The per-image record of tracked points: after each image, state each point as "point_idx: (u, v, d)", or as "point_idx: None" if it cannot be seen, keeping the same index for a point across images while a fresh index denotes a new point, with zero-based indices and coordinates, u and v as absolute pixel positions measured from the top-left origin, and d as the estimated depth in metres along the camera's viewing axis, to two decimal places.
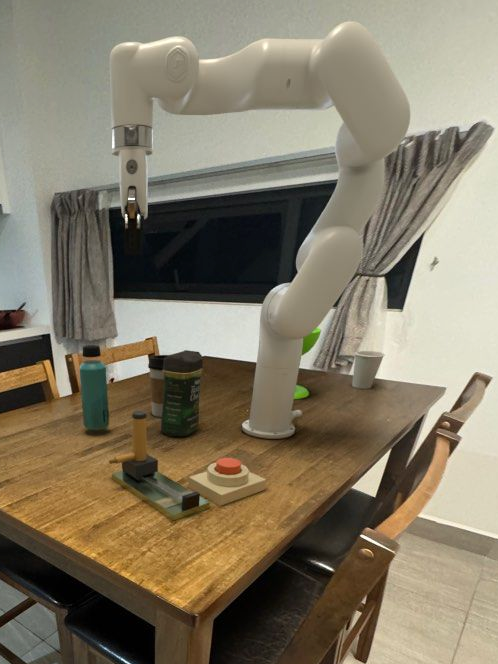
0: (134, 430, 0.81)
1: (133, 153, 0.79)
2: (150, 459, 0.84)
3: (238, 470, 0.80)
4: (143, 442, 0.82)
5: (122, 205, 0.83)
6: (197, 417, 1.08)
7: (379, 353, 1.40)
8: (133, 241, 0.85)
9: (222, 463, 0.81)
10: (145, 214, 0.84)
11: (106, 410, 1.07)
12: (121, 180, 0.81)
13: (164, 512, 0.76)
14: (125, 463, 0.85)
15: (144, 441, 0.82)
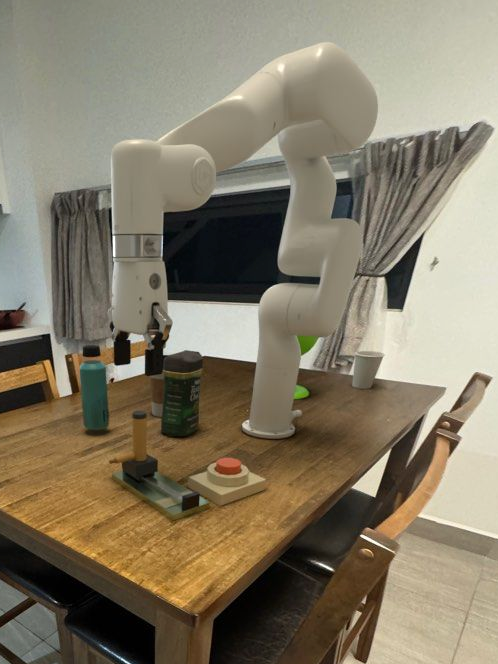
0: (134, 430, 0.81)
1: (156, 266, 0.65)
2: (150, 459, 0.84)
3: (238, 470, 0.80)
4: (143, 442, 0.82)
5: (144, 323, 0.68)
6: (197, 417, 1.08)
7: (379, 353, 1.40)
8: (157, 362, 0.71)
9: (222, 463, 0.81)
10: None
11: (106, 410, 1.07)
12: (143, 296, 0.66)
13: (164, 512, 0.76)
14: (125, 463, 0.85)
15: (144, 441, 0.82)
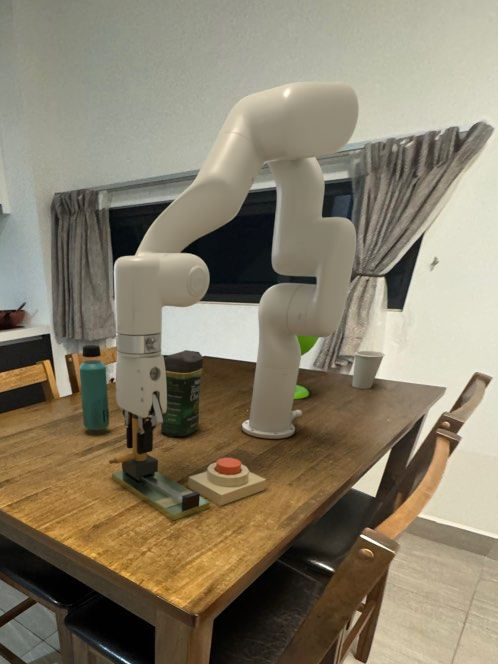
0: (134, 430, 0.81)
1: (155, 361, 0.72)
2: (150, 459, 0.84)
3: (238, 470, 0.80)
4: None
5: (145, 409, 0.75)
6: (197, 417, 1.08)
7: (379, 353, 1.40)
8: (148, 442, 0.81)
9: (222, 463, 0.81)
10: None
11: (106, 410, 1.07)
12: (144, 387, 0.73)
13: (164, 512, 0.76)
14: (125, 463, 0.85)
15: None
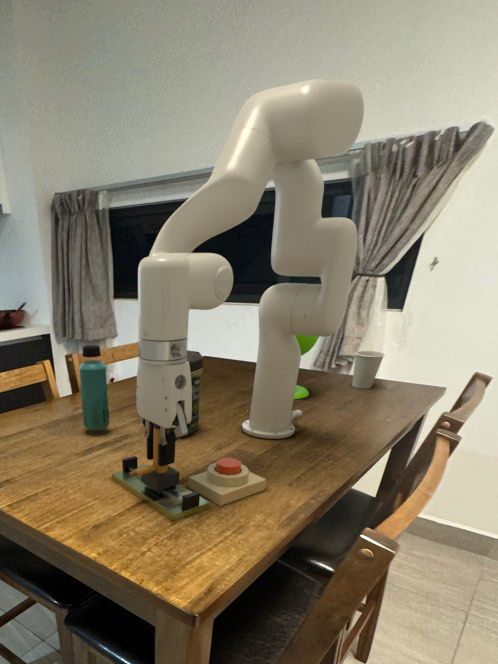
0: (155, 441, 0.76)
1: (181, 368, 0.67)
2: (171, 471, 0.80)
3: (238, 470, 0.80)
4: None
5: (169, 420, 0.70)
6: (197, 417, 1.08)
7: (379, 353, 1.40)
8: (170, 454, 0.76)
9: (222, 463, 0.81)
10: None
11: (106, 410, 1.07)
12: (168, 396, 0.68)
13: (164, 512, 0.76)
14: (145, 475, 0.80)
15: None
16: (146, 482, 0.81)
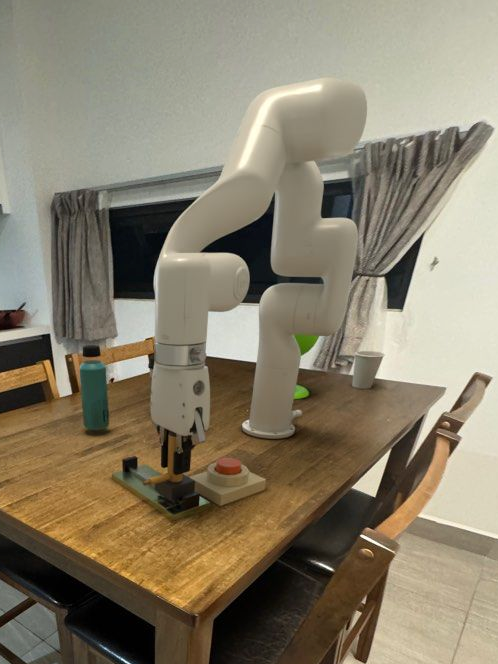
0: (171, 448, 0.73)
1: (200, 374, 0.64)
2: (186, 480, 0.77)
3: (238, 470, 0.80)
4: None
5: (186, 427, 0.67)
6: None
7: (379, 353, 1.40)
8: (186, 462, 0.73)
9: (222, 463, 0.81)
10: None
11: (106, 410, 1.07)
12: (186, 402, 0.65)
13: (164, 512, 0.76)
14: (159, 484, 0.77)
15: None
16: (160, 491, 0.77)
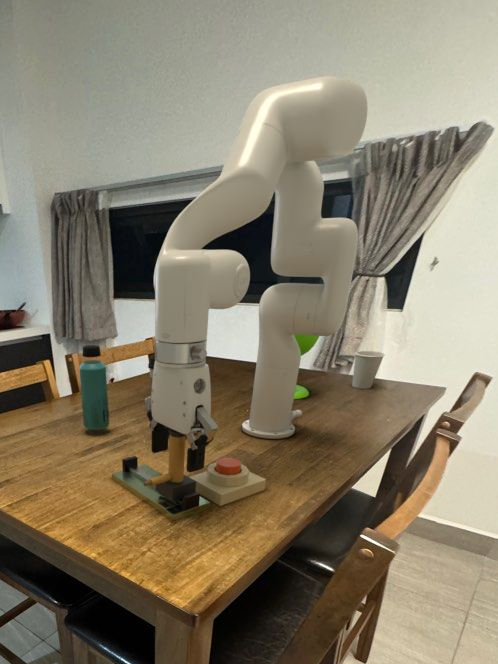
0: (171, 449, 0.73)
1: (200, 372, 0.64)
2: (187, 480, 0.76)
3: (238, 470, 0.80)
4: (181, 462, 0.74)
5: (187, 425, 0.67)
6: None
7: (379, 353, 1.40)
8: (200, 459, 0.70)
9: (222, 463, 0.81)
10: None
11: (106, 410, 1.07)
12: (187, 400, 0.65)
13: (164, 512, 0.76)
14: (160, 484, 0.77)
15: (182, 461, 0.74)
16: (161, 491, 0.77)
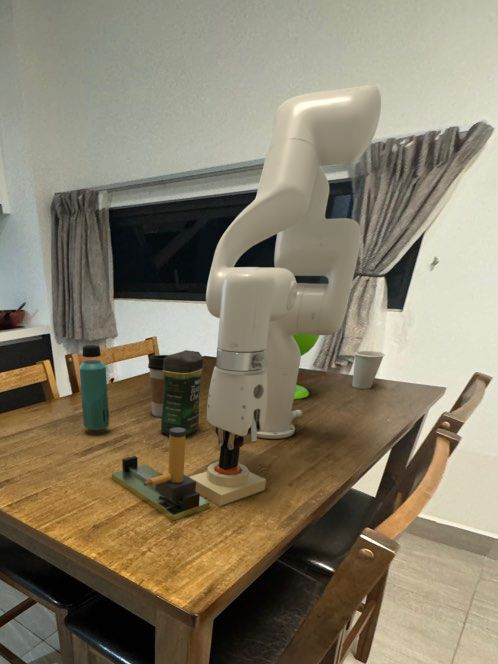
0: (171, 449, 0.73)
1: (260, 378, 0.69)
2: (187, 480, 0.76)
3: None
4: (181, 462, 0.74)
5: (245, 427, 0.72)
6: (197, 417, 1.08)
7: (379, 353, 1.40)
8: (235, 458, 0.79)
9: None
10: None
11: (106, 410, 1.07)
12: (246, 404, 0.71)
13: (164, 512, 0.76)
14: (160, 484, 0.77)
15: (182, 461, 0.74)
16: (161, 491, 0.77)
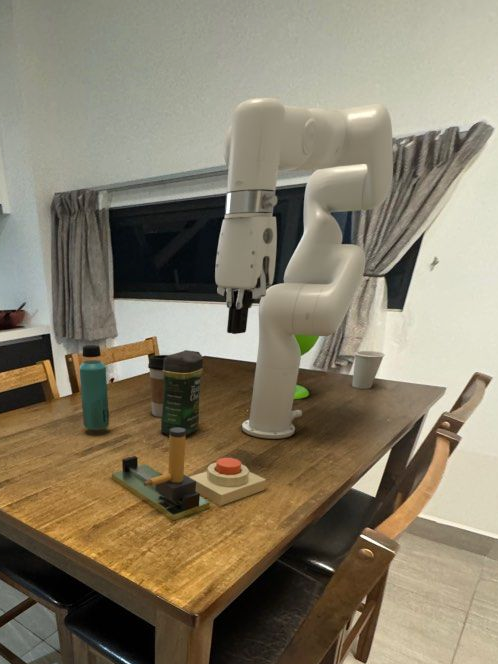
0: (171, 449, 0.73)
1: (269, 221, 0.69)
2: (187, 480, 0.76)
3: (238, 470, 0.80)
4: (181, 462, 0.74)
5: (254, 277, 0.72)
6: (197, 417, 1.08)
7: (379, 353, 1.40)
8: (244, 320, 0.79)
9: (222, 463, 0.81)
10: None
11: (106, 410, 1.07)
12: (256, 250, 0.70)
13: (164, 512, 0.76)
14: (160, 484, 0.77)
15: (182, 461, 0.74)
16: (161, 491, 0.77)
